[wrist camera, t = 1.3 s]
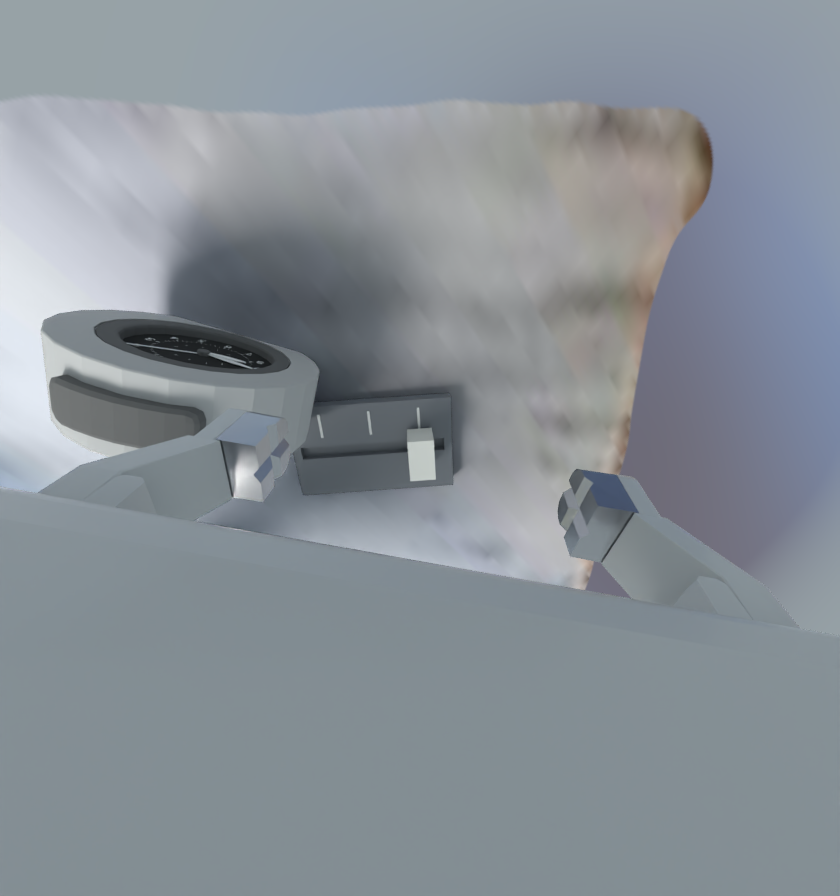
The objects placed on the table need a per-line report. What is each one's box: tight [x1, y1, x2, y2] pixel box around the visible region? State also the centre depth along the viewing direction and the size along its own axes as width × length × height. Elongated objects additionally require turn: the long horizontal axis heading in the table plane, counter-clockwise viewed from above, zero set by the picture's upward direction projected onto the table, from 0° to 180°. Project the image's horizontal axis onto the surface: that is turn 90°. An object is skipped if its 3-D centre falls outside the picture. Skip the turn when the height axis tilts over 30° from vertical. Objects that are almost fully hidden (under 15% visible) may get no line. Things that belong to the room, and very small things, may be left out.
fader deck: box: [293, 393, 453, 495], centre depth 46 cm, size 12×20×2 cm, turn 94°
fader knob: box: [407, 428, 436, 481], centre depth 43 cm, size 5×3×5 cm, turn 4°
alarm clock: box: [41, 310, 320, 457], centre depth 33 cm, size 21×8×20 cm, turn 73°
